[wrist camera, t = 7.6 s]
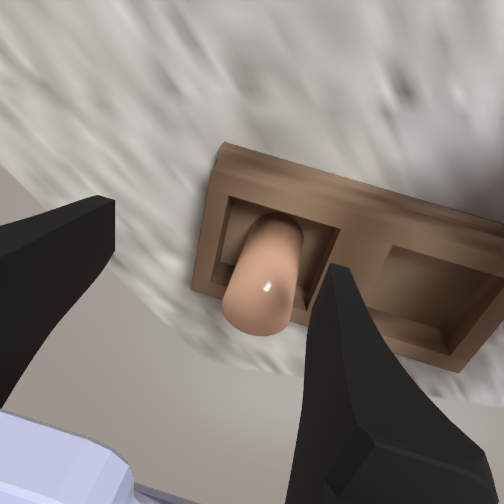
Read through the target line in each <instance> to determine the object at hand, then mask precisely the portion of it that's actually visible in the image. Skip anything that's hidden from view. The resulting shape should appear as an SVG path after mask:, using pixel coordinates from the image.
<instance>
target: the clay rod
mask: <svg viewBox="0 0 504 504" xmlns="http://www.w3.org/2000/svg"><path fill="white" fill-rule="evenodd" d="M303 242H304V234H303V231H302V228H301V227H300V225H299V224H298V223H297V222H296V221H295V220H294V219H293V218H291V217H289V216H287V215H285V214H281V213H268V214H264V215H262V216H260V217H259V218H257V219H256V220H255V221H254V222H253V224H252V226H251V228H250V231H249V233H248V236H247V238H246V241H245V244H244V246H243V249H242V251H241V254H240V256H239V259H238V262H237V264H236V267H235V269H234V272H233V274H232V277H231V280H230V282H229V285H228V287H227V290H226V292H225V295H224V298H223V300H222V310H223V313H224V315H225V317H226V319H227V320H228V321H229V323H230V324H232V325H233V326H234V327H235V328H237V329H238V330H240V331H242V332H244V333H247V334H250V335H255V336H269V335H274V334H276V333H279V332H280V331H282V330H283V329H284V328H285V327H286V326H287V325H288V323H289V321H290V317H291V312H292V306H293V300H294V294H295V289H296V283H297V277H298V271H299V266H300V260H301V254H302V248H303Z"/></svg>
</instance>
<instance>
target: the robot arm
mask: <svg viewBox="0 0 504 504" xmlns="http://www.w3.org/2000/svg"><path fill="white" fill-rule="evenodd" d="M114 251H115V200H113V199H109V198H106V197H103V196H99V195H96V196H92V197H89V198H85V199H82V200H79V201H76V202H74V203H71V204H68V205H65V206H62V207H59V208H56V209H53V210H50V211H48V212H45V213H42V214H39V215H35V216H32V217H29V218H26V219H22V220H19V221H16V222H12V223H9V224H5V225H1V226H0V504H199V503H196V502H193V501H190V500H187V499H184V498H181V497H177V496H175V495H172V494H168V493H165V492H162V491H159V490H156V489H153V488H150V487H147V486H144V485H141V484H138V483H135V482H134V478H133V475H132V472H131V470H130V467H129V465H128V462H127V461H126V460H125V459H124V458H123V457H121V455H119V454H118V453H117V452H116V451H115V450H114V449H112V448H111V447H109V446H107V445H105V444H102V443H100V442H98V441H96V440H94V439H92V438H90V437H87V436H83V435H80V434H77V433H74V432H71V431H68V430H65V429H62V428H59V427H56V426H52V425H49V424H46V423H43V422H40V421H37V420H34V419H31V418H27V417H24V416H22V415H18V414H15V413H12V412H9V411H6V410H3V409H1V408H2V407H3V405H4V403H5V402H6V400H7V398H8V397H9V395H10V394H11V392H12V390H13V388H14V387H15V385H16V383H17V382H18V380H19V379H20V377H21V376H22V374H23V373H24V371H25V370H26V368H27V366H28V365H29V363H30V362H31V360H32V359H33V357H34V356H35V354H36V353H37V351H38V350H39V348H40V347H41V346H42V344H43V343H44V341H45V340H46V338H47V337H48V335H49V334H50V332H51V331H52V330H53V329H54V327H55V326H56V325H57V323H58V322H59V321H60V320H61V319H62V317H63V316H64V315H65V314H66V313H67V312H68V311H69V309H70V308H71V307H72V306H73V305H74V304H75V303H76V302H77V300H78V299H79V298H80V297H81V296H82V294H83V293H84V292H85V291H86V290H87V289H88V288H89V287H90V285H91V284H92V283H93V282H94V281H95V279H96V278H97V277H98V276H99V275H100V273H101V272H102V270H103V269H104V267H105V266H106V264H107V263H108V261H109V259H110V258H111V256H112V254H113V253H114ZM498 502H499V500H498V496H497V492H496V489H495V485H494V480H493V477H492V473H491V469H490V467H489V464H488V461H487V458H486V456H485V453H484V451H483V450H482V449H481V448H480V447H479V446H478V445H477V444H476V443H474V442H473V441H472V440H471V439H470V438H469V437H468V436H467V435H465V434H464V433H463V432H462V431H461V430H460V429H459V428H458V427H457V426H456V425H455V424H453V423H452V422H451V421H450V420H449V419H448V418H447V417H446V416H445V415H444V414H443V413H442V412H441V411H440V410H439V408H438V407H437V406H436V405H435V404H434V403H433V402H432V401H431V400H430V399H429V398H428V397H427V396H426V395H425V393H424V392H423V391H422V390H421V389H420V388H419V386H418V385H417V384H416V383H415V382H414V380H413V379H412V378H411V377H410V376H409V374H408V373H407V372H406V371H405V369H404V368H403V367H402V365H401V364H400V363H399V361H398V360H397V358H396V357H395V355H394V354H393V353H392V351H391V350H390V348H389V347H388V345H387V344H386V342H385V341H384V339H383V337H382V336H381V334H380V332H379V330H378V329H377V327H376V325H375V323H374V321H373V319H372V317H371V315H370V313H369V311H368V309H367V307H366V305H365V303H364V301H363V299H362V296H361V294H360V292H359V289H358V287H357V285H356V282H355V280H354V277H353V275H352V272H351V270H350V268H348V267H345V266H341V265H338V264H334V263H331V262H330V265H329V267H328V270H327V272H326V275H325V277H324V280H323V282H322V285H321V287H320V290H319V292H318V295H317V297H316V300H315V302H314V305H313V307H312V311H311V316H310V321H309V326H308V332H307V340H306V356H305V373H304V391H303V403H302V411H301V417H300V423H299V429H298V435H297V441H296V447H295V452H294V458H293V464H292V470H291V475H290V480H289V485H288V490H287V496H286V501H285V504H498Z"/></svg>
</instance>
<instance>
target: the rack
mask: <svg viewBox="0 0 504 504" xmlns="http://www.w3.org/2000/svg"><path fill="white" fill-rule="evenodd" d="M268 213H281V214H285V215H287V216H289V217H291V218H293V219H294V220H295V221H296V222H297V223H298V224H299V225H300V227H301V228H302V231H303V234H304V242H303V248H302V254H301V260H300V266H299V271H298V277H297V283H296V289H295V294H294V300H293V306H292V312H291V317H290V321H292V322H295V323H299V324H302V325H305V326H309V321H310V316H311V311H312V307H313V305H314V302H315V300H316V297H317V295H318V292H319V290H320V287H321V285H322V282H323V280H324V277H325V275H326V272H327V270H328V267H329V265H330V262H331V263H334V264H338V265H341V266H345V267H348V268H350V270H351V272H352V275H353V277H354V280H355V282H356V285H357V287H358V289H359V292H360V294H361V296H362V299H363V301H364V303H365V305H366V307H367V309H368V311H369V313H370V315H371V317H372V319H373V321H374V323H375V325H376V327H377V329H378V330H379V332H380V334H381V336H382V337H383V339H384V341H385V342H386V344H387V345H388V347H389V348H390V350H391V351H392V353H395V354H398V355H401V356H404V357H408V358H411V359H414V360H417V361H420V362H424V363H427V364H430V365H433V366H436V367H440V368H443V369H446V370H449V371H452V372H456V373H460V371H461V370H462V369H463V368H464V367H465V365H466V364H467V363H468V362H469V361H470V359H471V358H472V357H473V356H474V355H475V353H476V352H477V351H478V350H479V349H480V347H481V346H482V345H483V344H484V343H485V341H486V340H487V339H488V338H489V337H490V335H491V334H492V333H493V332H494V331H495V329H496V328H497V327H498V326H499V325H500V323H501V322H502V321H503V320H504V224H500V223H497V222H494V221H490V220H487V219H484V218H480V217H477V216H473V215H470V214H467V213H463V212H460V211H456V210H453V209H450V208H446V207H443V206H439V205H436V204H433V203H429V202H426V201H423V200H419V199H416V198H412V197H409V196H406V195H402V194H399V193H395V192H392V191H389V190H385V189H382V188H379V187H375V186H372V185H368V184H365V183H362V182H358V181H355V180H351V179H348V178H345V177H341V176H338V175H334V174H331V173H328V172H324V171H321V170H318V169H314V168H311V167H307V166H304V165H301V164H297V163H294V162H290V161H287V160H284V159H280V158H277V157H273V156H270V155H267V154H263V153H260V152H257V151H253V150H250V149H246V148H243V147H240V146H236V145H233V144H229V143H226V142H224V143H223V144H222V145H221V147H220V148H219V152H218V157H217V163H216V165H215V166H214V168H213V169H212V171H211V176H210V182H209V188H208V194H207V199H206V205H205V211H204V216H203V222H202V228H201V234H200V239H199V245H198V251H197V257H196V262H195V268H194V274H193V280H192V285H191V290H193V291H196V292H199V293H203V294H206V295H209V296H212V297H215V298H219V299H222V300H223V298H224V295H225V292H226V290H227V287H228V285H229V282H230V280H231V277H232V274H233V272H234V269H235V267H236V264H237V262H238V259H239V256H240V254H241V251H242V249H243V246H244V244H245V241H246V238H247V236H248V233H249V231H250V228H251V226H252V224H253V222H254V221H255V220H256V219H257V218H259V217H260V216H262V215H264V214H268Z"/></svg>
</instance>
